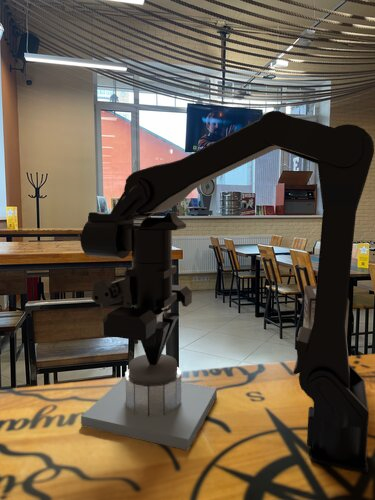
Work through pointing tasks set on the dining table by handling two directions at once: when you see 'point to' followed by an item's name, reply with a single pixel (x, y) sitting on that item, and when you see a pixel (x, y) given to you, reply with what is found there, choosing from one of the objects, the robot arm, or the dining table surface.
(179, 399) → the faceted ring
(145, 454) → the dining table surface
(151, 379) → the knob
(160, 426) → the mount plate
